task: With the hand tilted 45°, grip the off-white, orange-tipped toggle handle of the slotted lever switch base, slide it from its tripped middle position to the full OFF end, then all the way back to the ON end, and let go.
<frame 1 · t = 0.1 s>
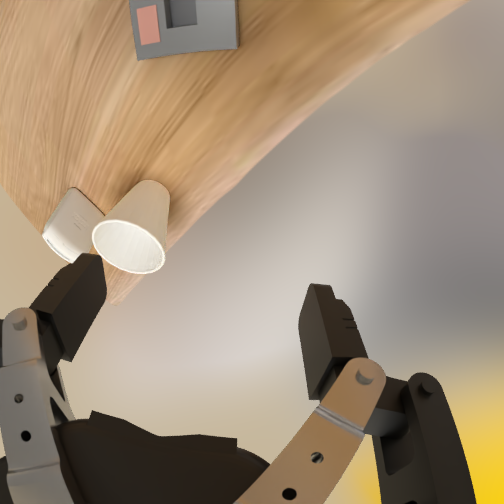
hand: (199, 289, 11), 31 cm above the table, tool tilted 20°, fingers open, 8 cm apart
cup: (152, 194, 48), on the table
photo printer: (87, 204, 50), on the table
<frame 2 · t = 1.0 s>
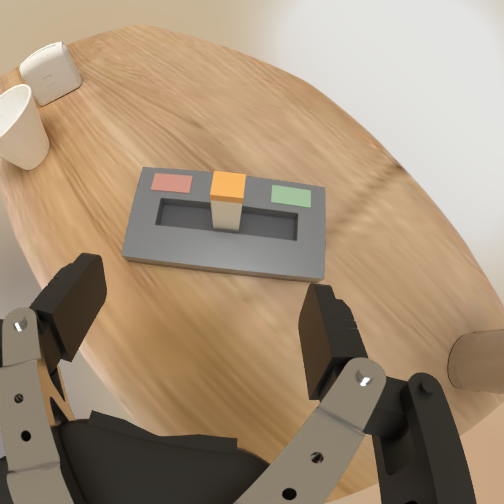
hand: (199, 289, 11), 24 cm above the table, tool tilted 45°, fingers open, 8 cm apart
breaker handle: (227, 206, 31), point 6 cm above the table, slide at 0.0 cm
cup: (35, 154, 38), on the table
photo printer: (60, 93, 42), on the table
slotted lever switch base: (226, 226, 37), on the table
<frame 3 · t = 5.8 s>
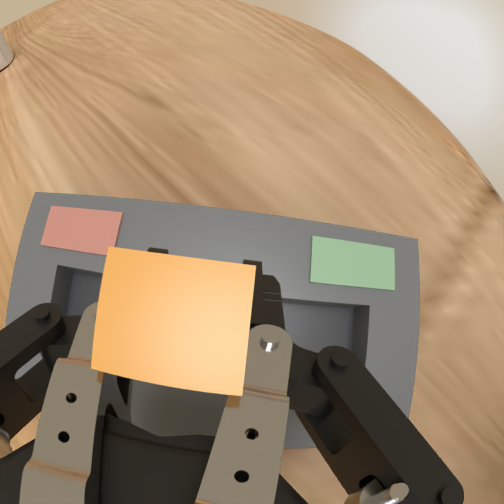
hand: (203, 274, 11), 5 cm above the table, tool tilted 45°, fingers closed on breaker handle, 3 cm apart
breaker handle: (195, 324, 10), point 6 cm above the table, slide at 0.0 cm, touching gripper
slotted lever switch base: (205, 326, 16), on the table
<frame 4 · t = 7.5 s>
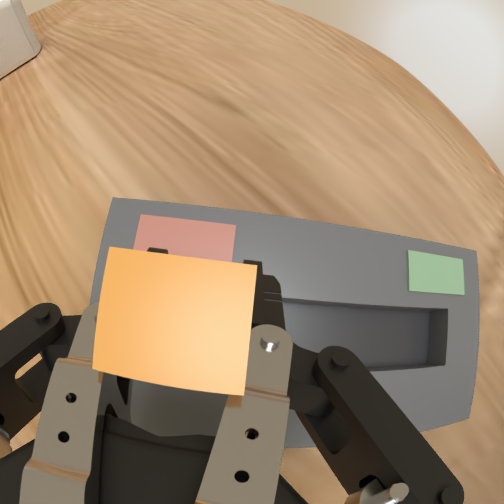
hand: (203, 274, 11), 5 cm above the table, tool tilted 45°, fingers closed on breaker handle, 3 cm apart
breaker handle: (195, 324, 10), point 6 cm above the table, slide at 6.1 cm, touching gripper
photo printer: (11, 69, 21), on the table
slotted lever switch base: (308, 336, 17), on the table
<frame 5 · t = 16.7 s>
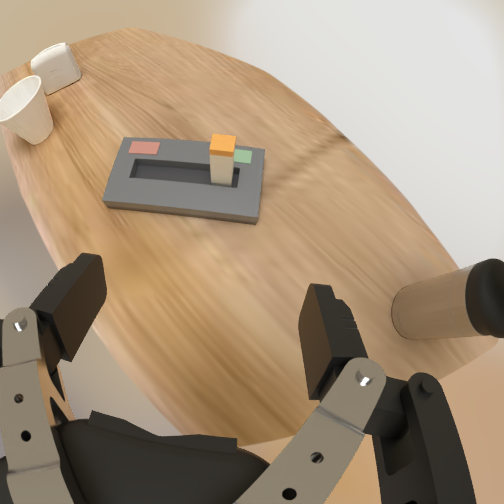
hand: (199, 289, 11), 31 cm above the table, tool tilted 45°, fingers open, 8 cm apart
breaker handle: (222, 163, 39), point 6 cm above the table, slide at -6.0 cm
cup: (41, 132, 46), on the table
photo printer: (63, 84, 50), on the table
slotted lever switch base: (185, 181, 45), on the table
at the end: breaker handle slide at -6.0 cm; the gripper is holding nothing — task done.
